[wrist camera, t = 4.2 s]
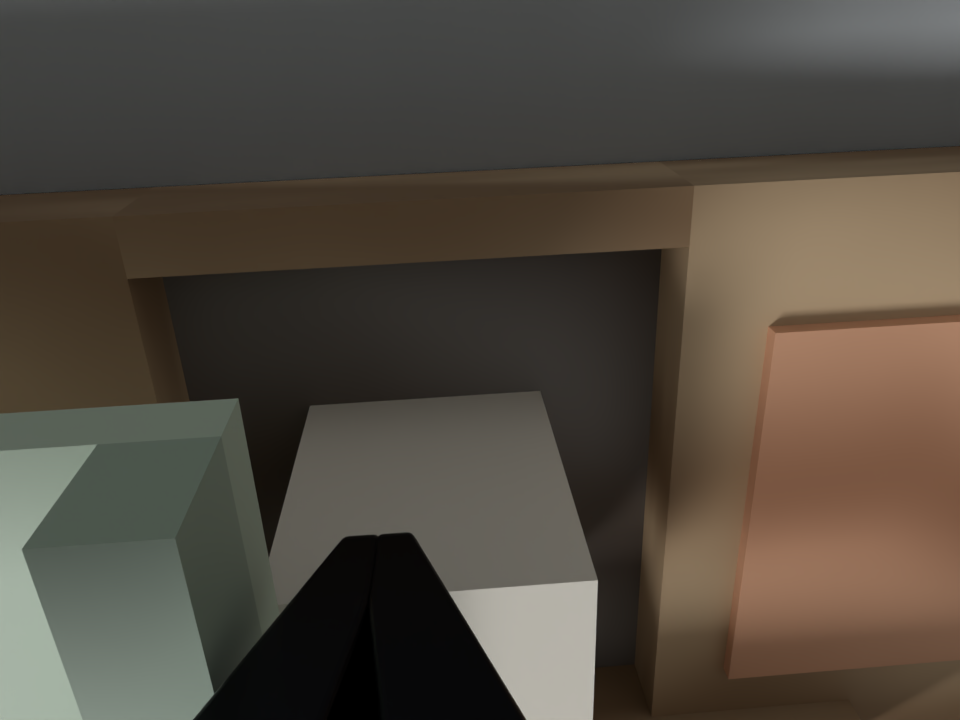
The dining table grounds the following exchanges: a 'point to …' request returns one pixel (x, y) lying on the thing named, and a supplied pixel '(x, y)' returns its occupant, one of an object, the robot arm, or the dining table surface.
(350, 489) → the cream block
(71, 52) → the dining table surface
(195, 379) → the puzzle board
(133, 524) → the sage cover
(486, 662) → the robot arm
